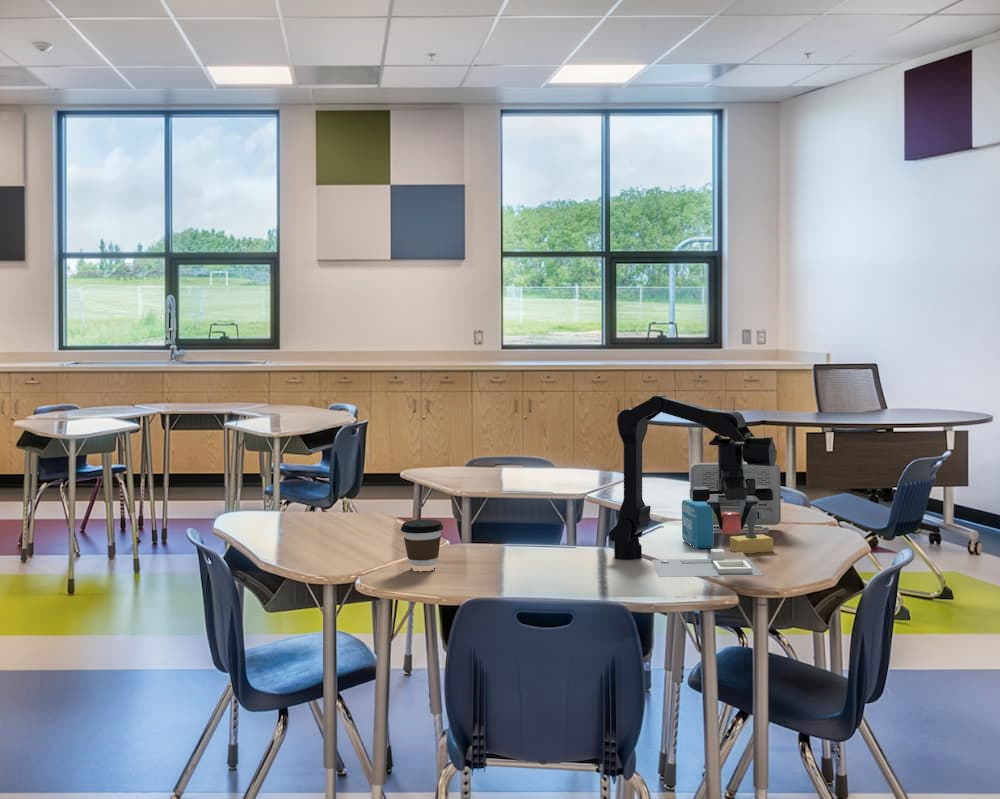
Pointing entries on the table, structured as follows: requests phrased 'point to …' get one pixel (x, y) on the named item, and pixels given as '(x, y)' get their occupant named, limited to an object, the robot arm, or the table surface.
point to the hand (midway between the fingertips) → (731, 529)
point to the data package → (697, 524)
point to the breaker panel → (705, 567)
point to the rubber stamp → (751, 538)
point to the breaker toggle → (717, 555)
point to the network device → (766, 509)
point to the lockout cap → (731, 522)
